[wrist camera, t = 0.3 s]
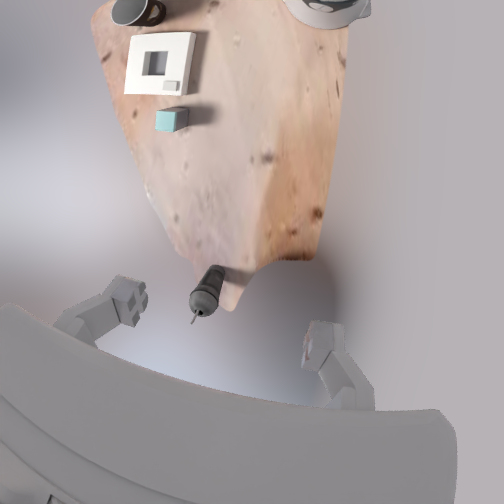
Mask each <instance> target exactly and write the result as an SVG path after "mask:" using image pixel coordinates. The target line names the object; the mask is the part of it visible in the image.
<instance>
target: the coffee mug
mask: <svg viewBox="0 0 504 504" xmlns="http://www.w3.org/2000/svg"><path fill="white" fill-rule="evenodd" d="M165 15H166V7H165V6H164V5H163V4H162V3H161V2H159V1H158V0H116V1H115V2H114V4H113V6H112V9H111V20H112V22H113V23H114V24H116V25H118V26H146V27H152V26H155V25H157V24H159V23H160V22H161V21H162V20H163V19H164V18H165Z"/></svg>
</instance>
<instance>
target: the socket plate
mask: <svg viewBox="0 0 504 504" xmlns="http://www.w3.org/2000/svg"><path fill="white" fill-rule="evenodd" d="M196 35H197V34H195V33H192V32H171V33H154V34H142V35H133V36H131V42H130V49H129V56H128V63H127V72H126V81H125V92H124V94H159V95H177V96H183V95H187V89H188V82H189V75H190V68H191V62H192V56H193V51H194V45H195V40H196Z"/></svg>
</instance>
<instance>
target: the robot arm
mask: <svg viewBox="0 0 504 504" xmlns="http://www.w3.org/2000/svg"><path fill="white" fill-rule="evenodd" d="M282 1H284V3H285V4H286V6H287V8H288V9H289V11H290V12H291V13H292V14H293V15H294V16H295V17H296V18H297V19H298V20H300V21H301V22H303V23H305V24H307V25H309V26H312V27H315V28H320V29H337V28H341V27H344V26H346V25H348V24H350V23H351V22H353V21H354V20H356V19H359V18H365V17H368V16H370V14H371V3H370V0H282ZM145 288H146V285H145V283H144V282H142V281H139V280H136V279H133V278H129V277H126V276H123V275H117V276H116V277H115V278H114V279H113V281H112V282H111V283H110V284H109V286H108V287H107V288H106V290H105V291H104V292H103V293H102V295H101V294H98V295H96V296H94V297H92V298H90V299H87V300H85V301H83V302H81V303H79V304H77V305H75V306H72V307H71V308H68V309H66V310H64V311H63V313H62V314H61V316H60V317H59V318H58V319H57V321H56V322H55V323H54V325H53V326H51V325H49V324H47V323H46V322H44V321H42V320H40V319H39V318H37V317H35V316H34V315H32V314H30V313H28V312H27V311H25V310H24V309H22V308H21V307H19V306H18V305H16V304H14V303H8V304H5V305H2V306H0V504H454V498H455V490H456V479H457V441H456V434H455V430H454V428H453V427H452V425H451V424H450V422H449V421H448V420H447V419H446V418H445V416H444V415H443V414H442V413H441V412H440V411H439V410H435V409H428V410H412V411H375V400H374V388H373V387H372V385H371V384H370V382H369V381H368V380H367V378H366V377H365V375H364V374H363V373H362V371H361V370H360V368H359V367H358V366H357V364H356V363H355V362H354V360H353V359H352V357H351V356H350V355H349V353H346V352H345V336H344V326H343V325H342V324H335V323H329V322H323V321H317V320H312V321H311V323H310V325H309V330H308V331H307V332H306V334H305V338H304V342H303V350H304V354H303V356H302V365H301V368H302V369H306V370H312V371H318V373H319V375H320V377H321V379H322V381H323V383H324V385H325V387H326V389H327V391H328V393H329V395H330V397H331V398H332V400H331V401H330V402H329V403H328V404H327V405H326V407H325V408H318V407H309V406H301V405H293V404H287V403H280V402H273V401H268V400H262V399H257V398H252V397H246V396H242V395H238V394H233V393H229V392H225V391H220V390H216V389H212V388H208V387H205V386H201V385H197V384H194V383H190V382H187V381H184V380H180V379H177V378H174V377H171V376H167V375H164V374H161V373H158V372H156V371H152V370H150V369H147V368H144V367H141V366H138V365H136V364H133V363H131V362H128V361H126V360H123V359H120V358H118V357H116V356H113V355H111V354H109V353H106V352H104V351H102V350H100V349H98V347H97V345H96V343H95V340H96V339H98V338H100V337H101V336H103V335H104V334H106V333H107V332H109V331H110V330H112V329H113V328H115V327H116V326H118V325H119V324H120V323H123V324H125V325H128V326H131V327H135V326H136V324H137V322H138V321H139V319H140V315H139V314H140V313H142V312H144V310H145V309H146V307H147V303H148V295H147V293H146V292H145V291H144V290H145Z"/></svg>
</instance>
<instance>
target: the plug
mask: <svg viewBox="0 0 504 504" xmlns="http://www.w3.org/2000/svg"><path fill="white" fill-rule="evenodd" d="M188 116H189V109H188V108H178V107H171V108H166V109H162V110H159V111H157V114H156V127H155V130H158V131H167V132H175V131H177V130H179V129H182V128H184V127H187V124H188Z"/></svg>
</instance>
